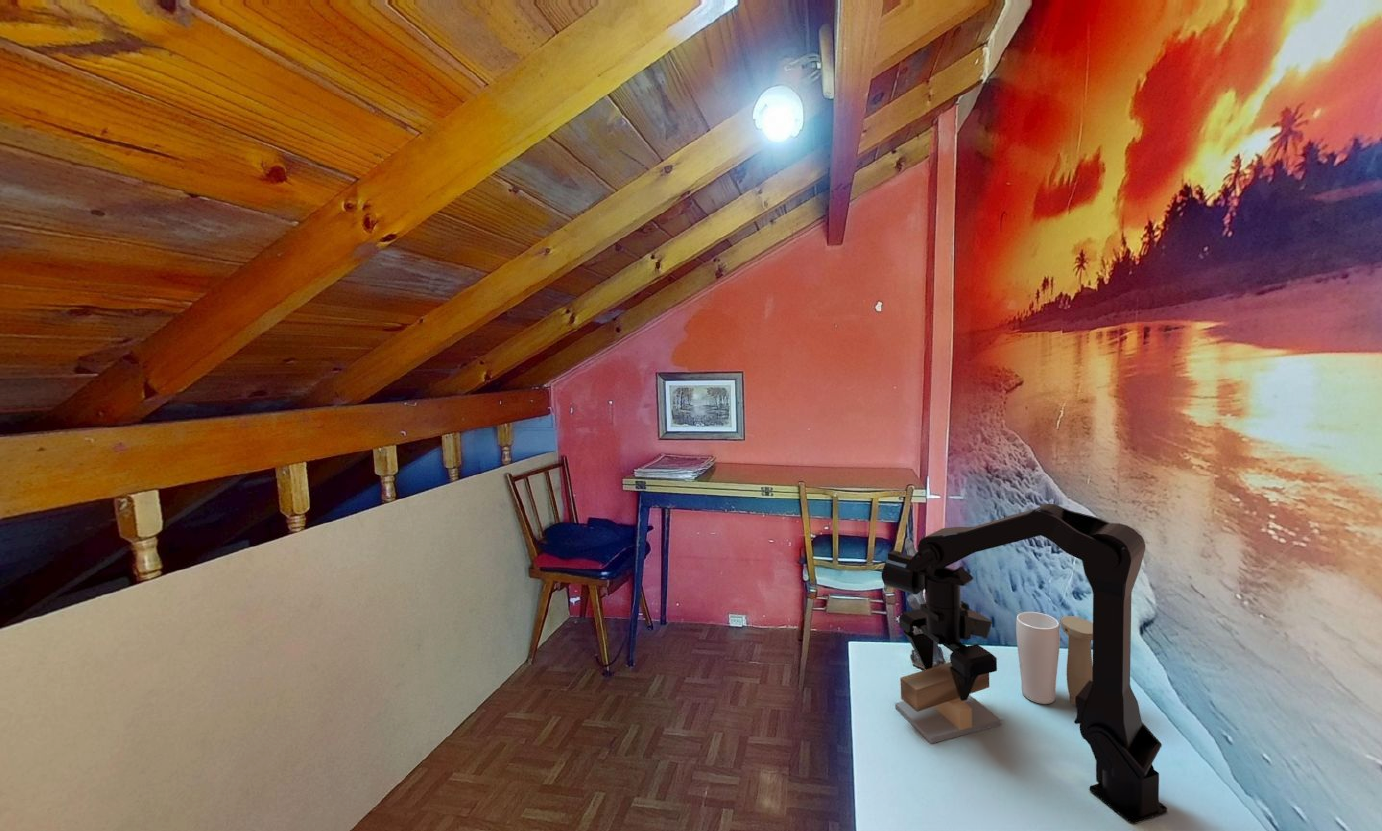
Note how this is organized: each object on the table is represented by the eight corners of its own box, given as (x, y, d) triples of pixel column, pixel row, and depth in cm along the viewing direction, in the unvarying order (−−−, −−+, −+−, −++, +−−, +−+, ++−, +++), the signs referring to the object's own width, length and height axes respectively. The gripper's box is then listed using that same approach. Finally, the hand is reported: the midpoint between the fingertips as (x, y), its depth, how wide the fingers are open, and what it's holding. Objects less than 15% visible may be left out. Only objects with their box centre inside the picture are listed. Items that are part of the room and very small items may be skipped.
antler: (951, 671, 114) (948, 552, 111) (912, 673, 114) (908, 555, 111) (929, 641, 125) (925, 534, 122) (894, 643, 125) (889, 536, 123)
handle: (1079, 691, 104) (1079, 615, 102) (1106, 713, 98) (1106, 632, 96) (1054, 693, 104) (1054, 617, 102) (1079, 715, 98) (1079, 634, 96)
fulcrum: (1000, 724, 97) (1000, 700, 97) (930, 743, 94) (929, 718, 93) (960, 692, 107) (959, 669, 106) (895, 708, 104) (894, 685, 103)
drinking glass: (1058, 712, 99) (1058, 632, 97) (1014, 700, 103) (1013, 623, 101) (1061, 692, 104) (1061, 616, 103) (1019, 681, 108) (1018, 608, 107)
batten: (989, 687, 100) (989, 666, 100) (917, 711, 95) (916, 689, 95) (971, 675, 104) (971, 655, 104) (901, 698, 99) (900, 677, 99)
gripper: (1024, 616, 91) (1025, 705, 92) (946, 574, 109) (948, 650, 110) (965, 629, 88) (968, 721, 90) (895, 584, 106) (899, 661, 108)
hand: (945, 685), depth 100 cm, fingers open, 9 cm apart
